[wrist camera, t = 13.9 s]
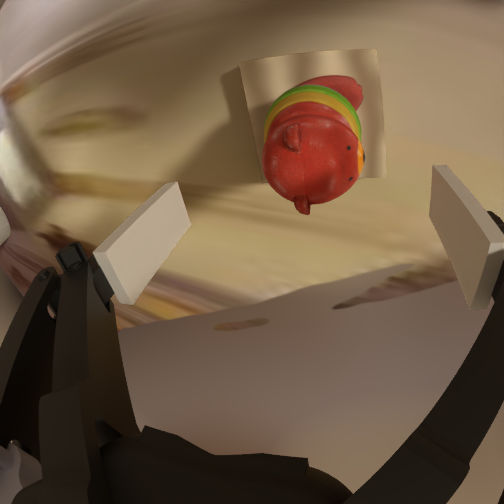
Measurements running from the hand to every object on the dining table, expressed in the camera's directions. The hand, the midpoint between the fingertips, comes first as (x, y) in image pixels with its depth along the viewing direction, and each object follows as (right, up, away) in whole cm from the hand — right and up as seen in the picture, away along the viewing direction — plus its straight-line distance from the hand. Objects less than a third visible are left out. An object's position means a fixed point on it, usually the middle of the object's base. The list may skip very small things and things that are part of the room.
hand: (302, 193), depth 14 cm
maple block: (+6, +15, +21) cm, 27 cm away
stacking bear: (+5, +13, +18) cm, 23 cm away
